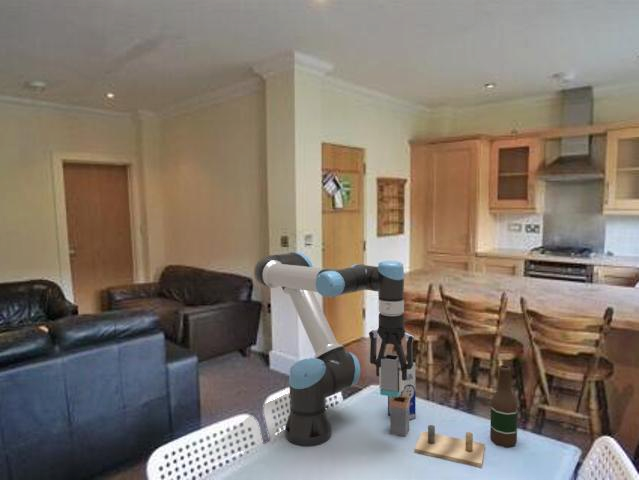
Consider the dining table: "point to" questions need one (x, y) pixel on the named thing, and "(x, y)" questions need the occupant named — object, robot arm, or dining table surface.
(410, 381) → the milk carton
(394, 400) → the sleeve rust
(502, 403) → the beer bottle
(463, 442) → the pin board
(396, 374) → the grey rectangular box
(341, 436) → the dining table surface
